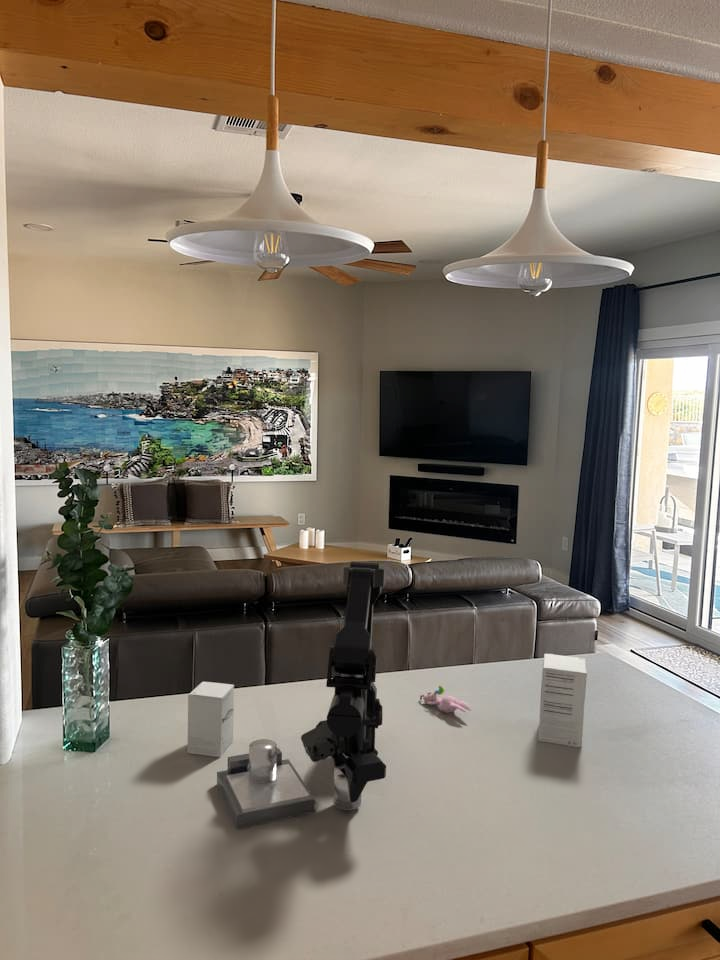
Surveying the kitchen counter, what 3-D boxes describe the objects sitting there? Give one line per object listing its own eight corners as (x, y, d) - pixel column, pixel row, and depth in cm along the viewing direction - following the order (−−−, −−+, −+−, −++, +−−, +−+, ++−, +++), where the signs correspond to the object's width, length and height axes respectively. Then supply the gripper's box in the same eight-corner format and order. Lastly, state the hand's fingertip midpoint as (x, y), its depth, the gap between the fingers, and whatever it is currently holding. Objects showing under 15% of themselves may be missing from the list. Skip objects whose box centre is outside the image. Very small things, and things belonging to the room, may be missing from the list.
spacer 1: (279, 780, 131) (280, 749, 130) (252, 786, 129) (253, 754, 128) (271, 767, 135) (272, 737, 134) (245, 772, 133) (246, 741, 132)
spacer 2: (354, 792, 132) (355, 761, 131) (365, 806, 127) (366, 774, 127) (329, 797, 130) (329, 766, 129) (339, 812, 125) (340, 779, 125)
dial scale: (288, 770, 140) (288, 746, 140) (314, 811, 127) (315, 785, 126) (216, 784, 135) (217, 758, 134) (236, 828, 121) (237, 800, 121)
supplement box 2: (539, 722, 165) (543, 652, 163) (581, 729, 163) (586, 657, 161) (537, 741, 156) (542, 666, 154) (582, 748, 153) (587, 672, 151)
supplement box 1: (220, 758, 144) (221, 698, 143) (186, 753, 146) (186, 693, 144) (234, 741, 152) (235, 684, 150) (201, 737, 153) (202, 680, 152)
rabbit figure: (415, 708, 174) (459, 722, 162) (413, 684, 174) (457, 695, 162) (433, 702, 178) (478, 715, 166) (432, 678, 178) (476, 689, 166)
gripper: (289, 696, 132) (288, 776, 134) (326, 741, 115) (324, 833, 117) (345, 687, 136) (343, 765, 138) (389, 730, 119) (385, 818, 121)
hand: (347, 793), depth 128 cm, fingers closed on spacer 2, 5 cm apart
